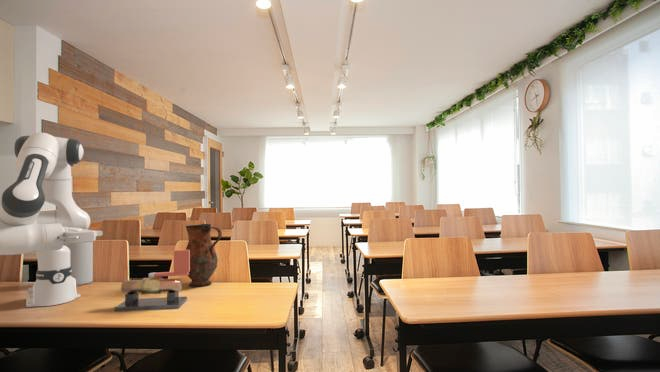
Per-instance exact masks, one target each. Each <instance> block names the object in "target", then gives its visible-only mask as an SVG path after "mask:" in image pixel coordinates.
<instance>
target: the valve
mask: <svg viewBox="0 0 660 372" xmlns="http://www.w3.org/2000/svg"><path fill="white" fill-rule="evenodd" d="M182 288H183V278H182V277H181V278H164V276H158V277H155V278H149V277H143V278H142V279H134V280H133V279H131V280H130V279H129V280H123V281H122V282H121V287H120V291H121V293H122V294H125V295H124V301H123V302H121V303H120V304H118V305H116V306H115V307H114V312H130V311H131V312H132V311H150V310H152V311H153V310H173V309H180V308H181V307H182V306H183V305H184V304H185V303H186V302H187V301H188V297H187V296H179V295H180V294H179V292H182ZM163 292H164V293H166V297H147V298H146V297H145V298H142V297H141V298H139V293H140V294H141V295H157V294H159V295H160V294H162V293H163Z"/></svg>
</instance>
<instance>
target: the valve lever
mask: <svg viewBox="0 0 660 372" xmlns="http://www.w3.org/2000/svg"><path fill="white" fill-rule="evenodd" d="M189 272H190V250H186V249H174V250H173V271H163V272H161V271H160V272H150V273H148V278H159V277H175V276H177V277H179V276H187V275H188V274H189Z"/></svg>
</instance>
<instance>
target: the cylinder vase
mask: <svg viewBox="0 0 660 372" xmlns="http://www.w3.org/2000/svg"><path fill="white" fill-rule="evenodd" d="M65 246H67V247H68V248H69V249H70V266H71V267H72V275H71V276H72V277H73V278H75V280H76V287H78V286H83V285H88V284H91V283H92V282H93V281H94V271H93V270H94V241H93V242H84V243H68V244H67V245H65Z"/></svg>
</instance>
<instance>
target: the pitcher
mask: <svg viewBox="0 0 660 372" xmlns="http://www.w3.org/2000/svg"><path fill="white" fill-rule="evenodd" d="M185 228H186V232H187V235H188V242H187V245H186V248H185V250H190V272H189V274H188V275H186V276H187V277H188V278H189V279H190V280H191V282H189V283H188V286H189V287H193V288H204V287H208V286H211V285H212V281H210V280H209V279H210V278H211V277H212V275H213V274H214V273H215V272H216V269H217V267H218V260H219V259H218V256H217V252H216V250H215V246H216V245H217V244H218V243H219V241H220V240H221V238H222V236H223V233H222V230H221V229H220V228H219V227H218V226H212V224H210V223H202V224H201V223H200V224H194V225H186V226H185ZM212 229H214V230H216V231H217V234H218V235H217V238H216V240H214V242H212V238H211V232H212Z"/></svg>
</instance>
